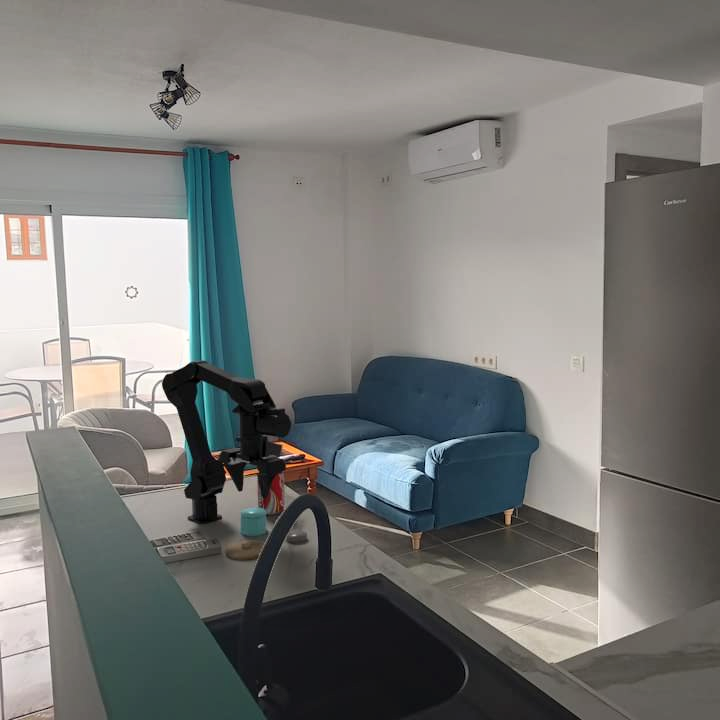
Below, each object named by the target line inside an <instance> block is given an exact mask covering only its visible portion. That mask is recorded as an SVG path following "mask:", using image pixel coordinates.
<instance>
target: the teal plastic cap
mask: <svg viewBox="0 0 720 720" xmlns="http://www.w3.org/2000/svg"><path fill="white" fill-rule="evenodd" d="M266 533H267V514H266V511H265V510H264V509H262V508H258V507H249V508H244V509H242V510H241V511H240V534H241V535H244V536H247V537H253V536H255V537H256V536H261V535H264V534H266Z"/></svg>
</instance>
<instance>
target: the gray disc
mask: <svg viewBox="0 0 720 720" xmlns="http://www.w3.org/2000/svg"><path fill="white" fill-rule="evenodd" d="M289 532H290V533H289V535H288V536H287V539H286V538H285V541H286V542H287V543H290V544H301V543H305V542H306V541H307V540H308V533H307V532H306V531H303V530H302V531H301V530H292V531H289Z"/></svg>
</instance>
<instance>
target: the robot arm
mask: <svg viewBox="0 0 720 720" xmlns="http://www.w3.org/2000/svg"><path fill="white" fill-rule="evenodd" d="M201 382H203V383H206V384H208V385H211V386H212V387H214V388H216V389H218V390H221V391H224V392H225V393H227V394H228V396H229V397H230V399H231V400H232V401H233V402H234V403H235V404H237V406H235V407H234V408H233V409H232V410H231V411H232V413H233V414H239V415H238V421H239V422H238V428H239V436H236V437H235V441H236V442H239V447H232V448H228V449H223V450H221V452H220V453H219V454H218V457H219V458H218V459H217V458H216V457H215V456H214V455H213V454H212V451H211V449H210V445H209V442H208V438H207V435H206V433H205V429H204V427H203V423H202V419H201V417H200V416H201V415H200V413H199V409H198V406H197V404H196V402H197V401H196V400H197V396H198V391H199V390H198V385H199V384H200V383H201ZM161 388H162V390H163V392H164V394H165V397H166V398H167V400H168V401H169V402H170V403H171V404H172V405H173V406H174V407H175V408H176V412H177V414H178V417H179V421H180V424H181V428H182V430H183V434H184V437H185V440H186V444H187V447H188V449H189V453H190V457H191V459H192V462H191V467H190V471H189V476H190V480H191V481H190V482H189V483H188V485H187V486H185V488H184V489H183V492H184V495H185V496H184V497H185V498H186V499H190V500H191V507H192V515H188V516H187V519H188V520H189V521H192V522H193V521H194V522H196V523H199V524H202V525H203V524H206V523H209V522H210V523H211V522H213V521H215V520H219V519H222V517H223V516H222V515H221V514H218V502H217V498H218V497H217V494H222V493H223V490H224V486H225V483H226V481H227V475H226V474H227V473H228V475H229V476H230V478H231V480H232V482H233V483H234V485H235V487H236V489H237V492H242V491H243V488H244V480H245V479H244V477H245V476H244V473H245V472H244V470H245V467H246V466H247V465H248V464H249V465H252V466H256V469H257V471H258V473H256V477H257V478H256V479H257V480H258V482H259V486H260V490H261V494H262V497H263V499H267V497H268V494H269V491H270V488H271V485H272V483H273V480H274V478H275V477H276V476H277V475H278V474H280V473H282V472H284V471H287V461H286V460H285V459H284V458H282V457H281V455H282V449H283V447H284V446H283V444H279V443H275V442H271V441H269V438H268V436H269V437H276V438H280V439H281V438H285V437H287V436H288V435H289V433H290V431H291V428H292V422H291V421H292V420H291V418H290V417H289V416H290V415H288V414H287V413H286V408H283V407H278V408H277V405H276V404H275V402H274V400H273V398H272V396H271V395H270V393H269V391H268V390H267V389H268V388H267V387H266V383H265V382H264V381H263V380H260V379H256V378H252V377H251V378H250V377H242V376H241V377H240V376H237V375H235V374H233V373H231V372H229V371H226V370H223V369H221V367H218V366H215V365H213V364H210V363H209V362H208V361H206V360H204V359H202V360H194V361H190V362H189V363H187V364H186V365H185V366H183V367H181V368H179V369H176V370H174V371H173V372H169V373H166V375H164V377H163V379H162V381H161ZM270 456H271V457H270ZM280 457H281V458H280Z"/></svg>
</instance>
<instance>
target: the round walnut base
mask: <svg viewBox="0 0 720 720" xmlns="http://www.w3.org/2000/svg"><path fill="white" fill-rule="evenodd" d="M264 543H265V542H263V541H261V540H257V539H256V540H255V539H243V540H242V539H241V540H235V541H233V542H231V543H230V542H229V543H228V544H227V545H226V547H225V554H226V557H228V558H230V559H233V560H240V561H241V560H242V561H243V560H244V561H245V560H252V559H257V558H259V557H258V556H259V553H260V552H261V549H262V547H263V545H264Z"/></svg>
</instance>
